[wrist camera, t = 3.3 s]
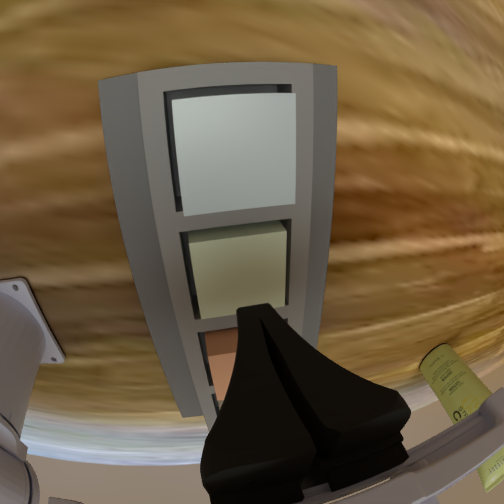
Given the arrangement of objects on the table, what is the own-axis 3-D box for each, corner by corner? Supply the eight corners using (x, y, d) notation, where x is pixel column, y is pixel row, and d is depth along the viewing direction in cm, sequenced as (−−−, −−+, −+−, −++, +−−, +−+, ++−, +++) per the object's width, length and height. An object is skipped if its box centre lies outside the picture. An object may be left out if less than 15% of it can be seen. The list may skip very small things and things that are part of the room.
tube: (428, 345, 30) (517, 472, 14) (456, 334, 31) (541, 446, 14) (412, 375, 33) (485, 493, 16) (440, 364, 34) (512, 470, 17)
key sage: (198, 296, 18) (201, 319, 16) (187, 225, 16) (188, 243, 14) (274, 285, 19) (284, 306, 17) (275, 214, 16) (286, 231, 15)
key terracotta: (213, 377, 20) (217, 400, 19) (204, 331, 18) (207, 356, 16) (277, 366, 21) (285, 388, 19) (279, 319, 19) (289, 342, 17)
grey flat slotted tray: (181, 409, 26) (184, 437, 23) (103, 81, 13) (84, 79, 10) (304, 387, 28) (315, 413, 25) (328, 66, 14) (358, 64, 12)
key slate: (183, 199, 14) (184, 216, 12) (173, 99, 12) (171, 100, 10) (281, 189, 15) (295, 203, 13) (280, 92, 12) (295, 93, 11)
